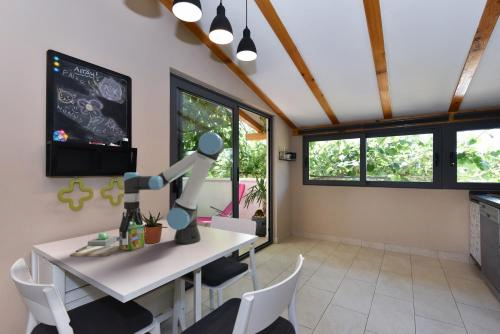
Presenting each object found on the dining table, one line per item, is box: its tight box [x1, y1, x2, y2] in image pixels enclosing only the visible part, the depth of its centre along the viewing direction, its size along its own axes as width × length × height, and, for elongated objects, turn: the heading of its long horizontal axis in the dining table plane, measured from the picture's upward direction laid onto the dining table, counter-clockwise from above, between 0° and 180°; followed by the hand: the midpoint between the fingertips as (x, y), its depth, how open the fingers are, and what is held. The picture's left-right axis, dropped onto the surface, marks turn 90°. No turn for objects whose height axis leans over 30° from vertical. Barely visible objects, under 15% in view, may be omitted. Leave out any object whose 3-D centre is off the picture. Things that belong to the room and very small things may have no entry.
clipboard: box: [69, 245, 120, 257], centre depth 127 cm, size 18×13×1 cm
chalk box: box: [118, 219, 145, 252], centre depth 133 cm, size 9×9×15 cm
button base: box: [87, 235, 117, 246], centre depth 139 cm, size 10×10×3 cm
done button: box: [97, 232, 108, 240], centre depth 139 cm, size 4×4×4 cm
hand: (131, 240), depth 133 cm, fingers open, 13 cm apart
